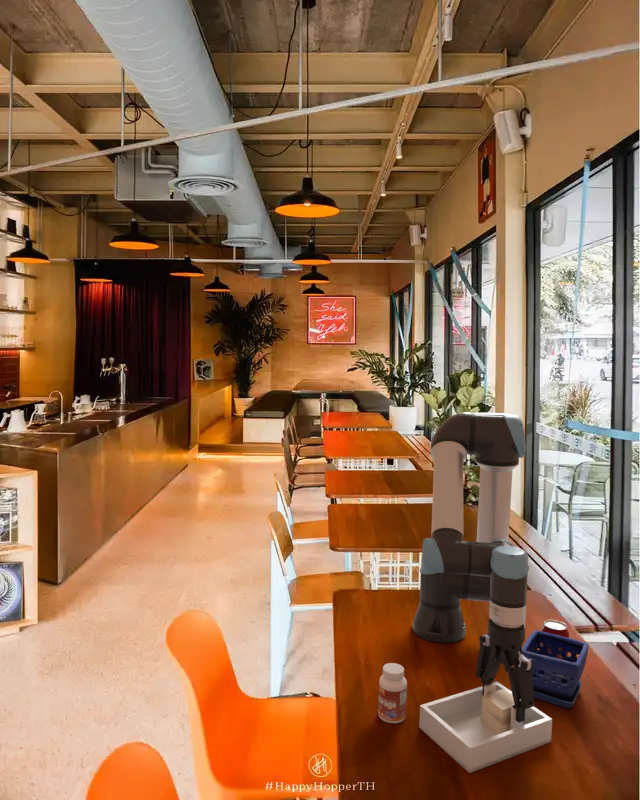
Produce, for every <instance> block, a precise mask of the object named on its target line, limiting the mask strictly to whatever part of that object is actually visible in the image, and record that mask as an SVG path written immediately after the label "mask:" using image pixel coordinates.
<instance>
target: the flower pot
mask: <svg viewBox="0 0 640 800" xmlns="http://www.w3.org/2000/svg"><path fill="white" fill-rule="evenodd" d="M541 643H544V646H542V645H541ZM559 648H562V650H559ZM548 649H551V650H552V653H550V652H548ZM522 651H523V655H524V656H525V657H526V658H527V659H532V660H533V661H534V665H533V669H532V675H533V693H534V699H537V700H541V701H543V702H547V703H549V704H550V703H551V704H554V705H556V706H559V707H563V708H567V709H569V708H572V707H573V706H574V705H575V703H576V700H577V698H578V695H579V692H580V690H581V687H582V683H583V682H582V681H581V678H582V676H583V672H584V670H585V667H586V662H587V658H588V652H589V644H588V643H587V642H585V641H582V640H578V639H575V638H571V637H569V638H567V637H563V636H559V635H555V634H550V633H546V632H542V631H541V630H537V629H535V630H533V631H532V633H531V634H530V635H529V637H528V638H527V639H526V640H525V643H523V645H522ZM567 652H568V654H570V656H569V655H568V656H567V655H566V653H567ZM543 654H545V655H546V656H544V655H543ZM559 654H560V655H562V657H563V659H564V660H561V659H557V658H555V656H556V655H559ZM577 656H578V657H577Z"/></svg>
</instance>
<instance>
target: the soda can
mask: <svg viewBox="0 0 640 800" xmlns="http://www.w3.org/2000/svg"><path fill="white" fill-rule="evenodd" d="M540 631H542V632H546V633H550V634H555V635H559V636H563V637H567V638H570V632H569V630H568V626H567V625H566V623H565V622H562V621H559V620H556V619H555V620H554V619H547V620H545V621H544V622H543V625H542V626H541V627H540ZM541 645H542V646H544V643H541ZM559 650H562V648H559ZM548 652H550V653H552V650H551V649H548ZM543 655H544V656H546V655H545V654H543ZM566 655H567V656H569V652H567V653H566ZM555 658H557V659H561V660H564V659H563V657H562V655H560V654H559V655H556V656H555Z"/></svg>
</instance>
